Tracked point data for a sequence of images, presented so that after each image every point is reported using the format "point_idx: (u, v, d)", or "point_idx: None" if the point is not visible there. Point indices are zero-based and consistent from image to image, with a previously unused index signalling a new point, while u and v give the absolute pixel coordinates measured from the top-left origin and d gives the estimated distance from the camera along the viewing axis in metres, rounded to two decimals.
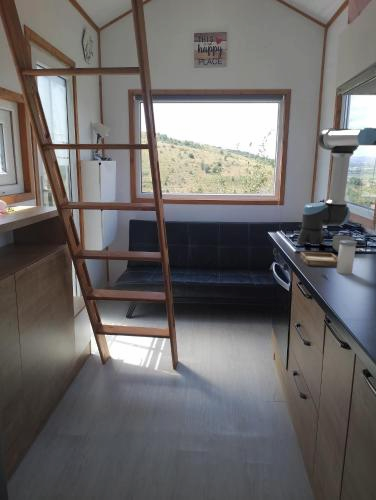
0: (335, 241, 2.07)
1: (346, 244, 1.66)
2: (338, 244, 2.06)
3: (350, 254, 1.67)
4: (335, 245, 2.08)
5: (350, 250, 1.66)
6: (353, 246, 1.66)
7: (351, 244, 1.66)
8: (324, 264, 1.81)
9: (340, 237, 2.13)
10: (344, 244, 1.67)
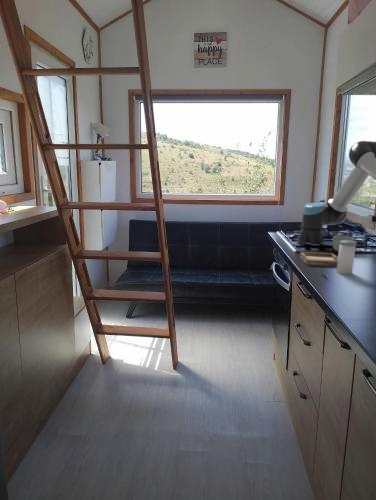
0: (335, 241, 2.07)
1: (346, 244, 1.66)
2: (338, 244, 2.06)
3: (350, 254, 1.67)
4: (335, 245, 2.08)
5: (350, 250, 1.66)
6: (353, 246, 1.66)
7: (351, 244, 1.66)
8: (324, 264, 1.81)
9: (340, 237, 2.13)
10: (344, 244, 1.67)
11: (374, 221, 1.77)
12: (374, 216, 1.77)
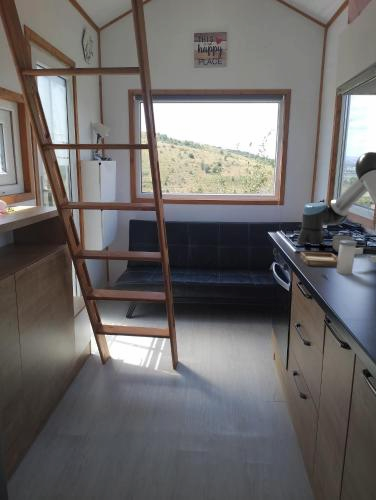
0: (335, 241, 2.07)
1: (346, 244, 1.66)
2: (338, 244, 2.06)
3: (350, 254, 1.67)
4: (335, 245, 2.08)
5: (350, 250, 1.66)
6: (353, 246, 1.66)
7: (351, 244, 1.66)
8: (324, 264, 1.81)
9: (340, 237, 2.13)
10: (344, 244, 1.67)
11: (365, 253, 1.80)
12: (365, 248, 1.79)
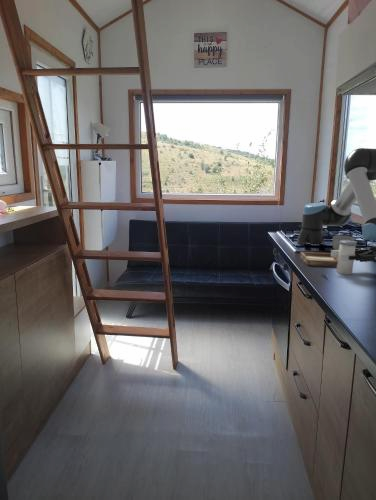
0: (335, 241, 2.07)
1: (346, 244, 1.66)
2: (338, 244, 2.06)
3: None
4: (335, 245, 2.08)
5: (350, 250, 1.66)
6: (353, 246, 1.66)
7: (351, 244, 1.66)
8: (324, 264, 1.81)
9: (340, 237, 2.13)
10: (344, 244, 1.67)
11: None
12: None
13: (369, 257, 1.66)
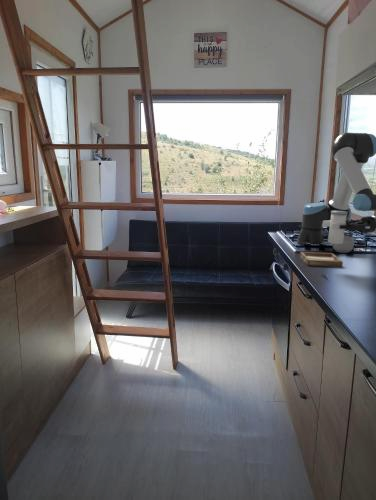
0: None
1: (337, 214, 1.71)
2: (338, 244, 2.06)
3: None
4: (335, 245, 2.08)
5: (341, 220, 1.71)
6: (344, 215, 1.71)
7: (342, 213, 1.70)
8: (324, 264, 1.81)
9: None
10: (335, 214, 1.71)
11: None
12: None
13: (359, 226, 1.70)
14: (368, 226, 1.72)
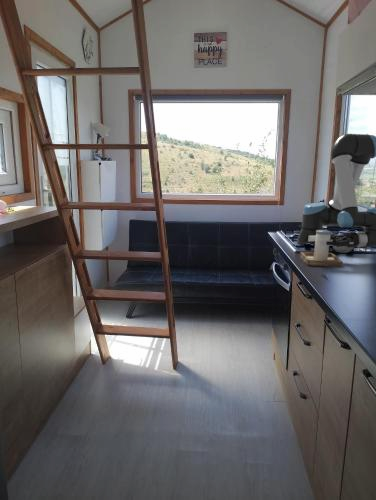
0: None
1: (321, 233, 1.83)
2: None
3: None
4: None
5: (325, 239, 1.83)
6: (328, 235, 1.83)
7: (326, 233, 1.82)
8: (324, 264, 1.81)
9: None
10: (320, 233, 1.83)
11: None
12: None
13: (344, 242, 1.81)
14: (352, 242, 1.83)
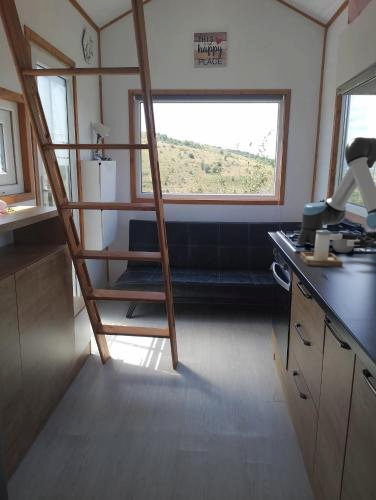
0: (335, 241, 2.07)
1: (321, 233, 1.83)
2: (338, 244, 2.06)
3: (325, 243, 1.83)
4: (335, 245, 2.08)
5: (325, 239, 1.83)
6: (328, 235, 1.83)
7: (326, 233, 1.82)
8: (324, 264, 1.81)
9: None
10: (320, 233, 1.83)
11: (344, 238, 1.97)
12: (344, 234, 1.96)
13: (370, 242, 1.83)
14: None
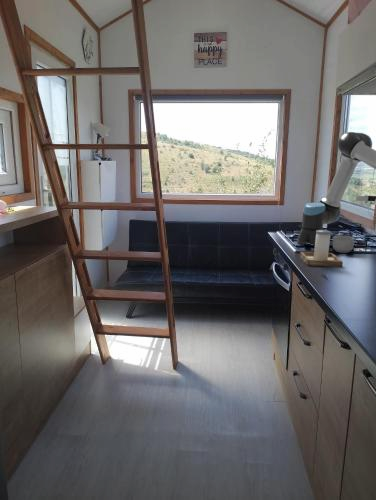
0: (335, 241, 2.07)
1: (321, 233, 1.83)
2: (338, 244, 2.06)
3: (325, 243, 1.83)
4: (335, 245, 2.08)
5: (325, 239, 1.83)
6: (328, 235, 1.83)
7: (326, 233, 1.82)
8: (324, 264, 1.81)
9: (340, 237, 2.13)
10: (320, 233, 1.83)
11: (370, 200, 1.93)
12: (370, 196, 1.92)
13: None
14: None
